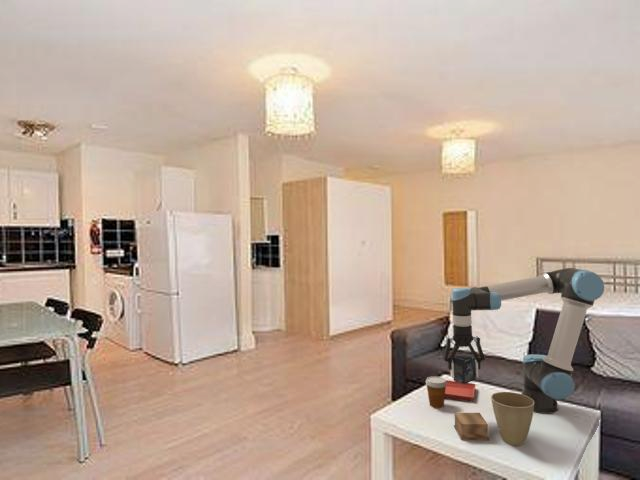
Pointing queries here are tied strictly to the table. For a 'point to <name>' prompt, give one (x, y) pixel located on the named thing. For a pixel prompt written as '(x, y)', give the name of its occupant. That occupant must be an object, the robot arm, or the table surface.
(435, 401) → the disposable coffee cup
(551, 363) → the robot arm
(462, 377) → the box
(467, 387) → the plant saucer
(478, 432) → the pedestal
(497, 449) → the table surface
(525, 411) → the plant pot
